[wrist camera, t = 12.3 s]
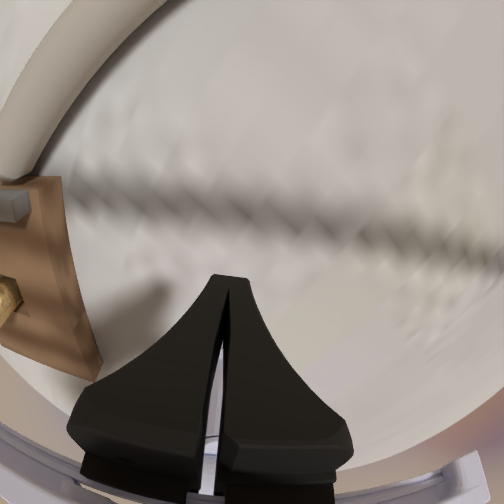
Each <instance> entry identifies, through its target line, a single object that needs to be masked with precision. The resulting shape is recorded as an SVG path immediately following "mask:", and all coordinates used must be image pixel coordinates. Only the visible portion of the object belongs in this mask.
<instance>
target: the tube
mask: <svg viewBox="0 0 504 504" xmlns="http://www.w3.org/2000/svg"><path fill="white" fill-rule="evenodd" d="M166 1H167V0H73V1H72V2H71V3H70V5H69V6H68V7H67V8H66V9H65V11H64V12H63V13H62V14H61V15H60V17H59V18H58V19H57V20H56V22H55V23H54V24H53V26H52V27H51V28H50V30H49V31H48V32H47V34H46V35H45V37H44V38H43V39H42V41H41V42H40V44H39V45H38V47H37V48H36V50H35V51H34V53H33V54H32V56H31V57H30V59H29V61H28V62H27V64H26V65H25V67H24V69H23V70H22V72H21V74H20V76H19V77H18V79H17V81H16V83H15V85H14V86H13V88H12V90H11V92H10V94H9V96H8V98H7V100H6V102H5V104H4V106H3V108H2V111H1V113H0V180H3V181H10V182H11V181H14V180H17V179H21V178H22V177H24V176H25V175H26V174H28V173H29V172H31V171H32V170H33V168H34V166H35V164H36V162H37V160H38V158H39V156H40V154H41V153H42V151H43V149H44V147H45V146H46V144H47V142H48V140H49V139H50V137H51V135H52V134H53V132H54V130H55V129H56V127H57V126H58V124H59V123H60V121H61V119H62V118H63V116H64V115H65V113H66V112H67V110H68V109H69V108H70V106H71V105H72V103H73V102H74V100H75V99H76V98H77V96H78V95H79V94H80V92H81V91H82V89H83V88H84V87H85V86H86V84H87V83H88V82H89V80H90V79H91V78H92V77H93V75H94V74H95V73H96V72H97V70H98V69H99V68H100V67H101V66H102V65H103V63H104V62H105V61H106V60H107V59H108V58H109V56H110V55H111V54H112V53H113V52H114V51H115V50H116V49H117V48H118V47H119V45H120V44H121V43H122V42H123V41H124V40H125V39H126V38H127V37H128V36H129V35H130V34H131V33H132V32H133V31H134V30H135V29H136V28H137V27H138V26H139V25H140V24H141V23H142V22H143V21H145V20H146V19H147V18H148V17H149V16H150V15H151V14H152V13H153V12H155V11H156V10H157V9H158V8H159V7H160V6H161V5H163V4H164V3H165V2H166Z"/></svg>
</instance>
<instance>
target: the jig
mask: <svg viewBox="0 0 504 504" xmlns="http://www.w3.org/2000/svg"><path fill="white" fill-rule="evenodd" d="M3 276H8V277H11V278H14V279H16V281H17V284H18V287H19V289H20V292H21V295H22V297H23V299H22V301H21V302H20V303H19V304H18V306H17V307H16V308H15V309H14V311H13V312H12V313H11V315H10V316H9V317H8V319H7V320H6V321H5V323H4V324H3V325H2V327H1V328H0V343H1V345H2V346H3V347H5V348H8V349H10V350H12V351H14V352H16V353H18V354H20V355H23V356H25V357H27V358H30V359H32V360H34V361H37V362H39V363H41V364H44V365H47V366H49V367H52V368H54V369H57V370H60V371H62V372H65V373H68V374H71V375H74V376H77V377H80V378H83V379H86V380H89V381H92V382H95V380H96V378H97V376H98V373H99V371H100V369H101V366H102V364H103V362H102V359H101V356H100V353H99V351H98V348H97V345H96V342H95V339H94V336H93V333H92V330H91V327H90V324H89V321H88V317H87V314H86V311H85V307H84V304H83V300H82V296H81V293H80V289H79V285H78V281H77V276H76V272H75V268H74V263H73V258H72V253H71V248H70V243H69V237H68V231H67V225H66V218H65V211H64V203H63V194H62V184H61V177H58V176H24V177H22V178H21V179H17V180H14V181H11V182H10V181H3V180H0V279H1V278H2V277H3Z"/></svg>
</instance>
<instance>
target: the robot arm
mask: <svg viewBox="0 0 504 504" xmlns="http://www.w3.org/2000/svg"><path fill="white" fill-rule="evenodd" d="M222 342H223V349H221V346H222ZM67 432H68V434H69V435H70V436H71V438H72V439H73V440H74V441H75V442H76V443H77V444H78V445H79V446H80V447H81V448H82V449H83V450H84V451H85V456H84V459H83V462H82V463H80V462H77V461H75V460H72V459H70V458H68V457H65V456H63V455H61V454H58V453H56V452H54V451H52V450H50V449H48V448H46V447H44V446H42V445H40V444H38V443H36V442H34V441H32V440H30V439H29V438H27V437H25V436H23V435H21V434H20V433H18V432H16V431H15V430H13V429H11V428H10V427H8V426H6V425H5V424H3V423H2V422H0V497H2V498H3V499H4V500H6V501H7V502H8V503H9V504H117V503H115V502H113V501H111V500H110V499H109V498H107V497H104V496H102V495H99V494H97V493H94V492H92V491H89V490H87V489H85V488H83V487H82V486H81V485H80V483H81V484H84V485H87V486H89V487H91V488H94V489H97V490H100V491H102V492H106V493H108V494H111V495H114V496H118V497H121V498H124V499H128V500H131V501H134V502H138V503H142V504H485V503H487V502H488V501H489V500H490V494H489V490H488V486H487V482H486V479H485V475H484V471H483V468H482V464H481V461H480V458H479V455H478V452H477V451H476V450H474V451H472V452H470V453H468V454H465V455H463V456H461V457H458V458H456V459H454V460H452V461H451V462H449V463H447V464H446V465H444V466H443V467H442V468H440V469H437V470H435V471H432V472H429V473H426V474H423V475H420V476H417V477H413V478H410V479H406V480H403V481H399V482H395V483H391V484H387V485H383V486H379V487H374V488H369V489H364V490H359V491H353V492H346V493H340V494H334V488H333V483H334V482H336V469H338V468H339V467H340V466H342V465H343V464H345V463H346V462H347V461H348V460H349V459H350V458H351V457H352V456H353V453H354V449H353V444H352V439H351V436H350V433H349V430H348V427H347V424H346V421H345V420H344V419H343V418H342V417H341V416H339V415H338V414H337V413H336V412H335V411H333V410H332V409H331V408H330V407H329V406H328V405H326V404H325V403H324V402H323V401H322V400H321V399H320V398H319V397H318V396H317V395H316V394H315V393H314V392H313V391H312V390H311V389H310V388H309V387H308V385H307V384H306V383H305V382H304V381H303V380H302V378H301V377H300V376H299V375H298V374H297V373H296V371H295V370H294V369H293V368H292V366H291V365H290V364H289V362H288V361H287V360H286V358H285V356H284V355H283V354H282V352H281V351H280V349H279V348H278V346H277V345H276V343H275V341H274V340H273V338H272V336H271V334H270V332H269V331H268V329H267V327H266V325H265V323H264V321H263V319H262V316H261V314H260V312H259V310H258V307H257V305H256V302H255V299H254V296H253V293H252V290H251V286H250V281H249V280H248V279H247V278H241V277H233V276H225V275H218V274H214V275H212V276H211V277H210V279H209V281H208V283H207V285H206V286H205V288H204V289H203V291H202V292H201V294H200V295H199V296H198V298H197V299H196V300H195V302H194V303H193V304H192V306H191V307H190V308H189V309H188V311H187V312H186V313H185V314H184V315H183V316H182V317H181V318H180V319H179V321H178V322H177V323H176V324H175V325H174V326H173V327H172V328H171V329H170V330H169V331H168V332H167V333H166V334H165V335H164V336H163V337H161V338H160V339H159V340H158V341H157V342H156V343H155V344H153V345H152V346H151V347H150V348H148V349H147V350H146V351H145V352H143V353H142V354H141V355H139V356H138V357H137V358H135V359H134V360H132V361H131V362H129V363H128V364H126V365H125V366H123V367H122V368H120V369H119V370H117V371H115V372H114V373H112V374H110V375H108V376H107V377H105V378H103V379H101V380H99V381H97V382H95V383H93V384H91V385H89V386H87V387H85V389H84V390H83V392H82V394H81V395H80V397H79V398H78V400H77V402H76V404H75V406H74V408H73V411H72V414H71V416H70V419H69V421H68V424H67ZM78 482H79V483H78Z"/></svg>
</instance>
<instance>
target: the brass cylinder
mask: <svg viewBox="0 0 504 504" xmlns="http://www.w3.org/2000/svg"><path fill="white" fill-rule="evenodd" d="M22 299H23V297H22V295H21V292H20V289H19V287H18V284H17V281H16V279H14V278H11V277H8V276H3V277H2V278H1V279H0V328H1V327H2V325H3V324H4V323H5V321H6V320H7V319H8V317H9V316H10V315H11V313H12V312H13V311H14V309H15V308H16V307H17V306H18V304H19V303H20V302H21V301H22Z"/></svg>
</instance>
